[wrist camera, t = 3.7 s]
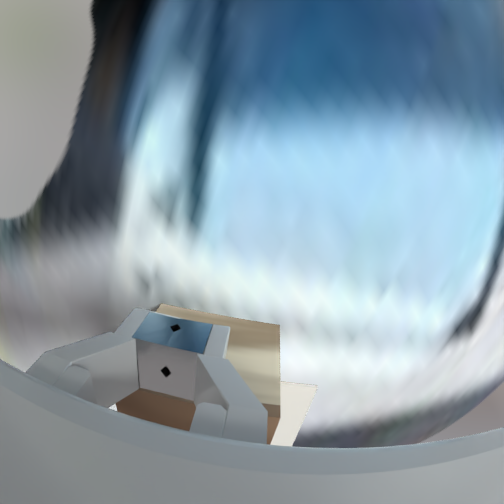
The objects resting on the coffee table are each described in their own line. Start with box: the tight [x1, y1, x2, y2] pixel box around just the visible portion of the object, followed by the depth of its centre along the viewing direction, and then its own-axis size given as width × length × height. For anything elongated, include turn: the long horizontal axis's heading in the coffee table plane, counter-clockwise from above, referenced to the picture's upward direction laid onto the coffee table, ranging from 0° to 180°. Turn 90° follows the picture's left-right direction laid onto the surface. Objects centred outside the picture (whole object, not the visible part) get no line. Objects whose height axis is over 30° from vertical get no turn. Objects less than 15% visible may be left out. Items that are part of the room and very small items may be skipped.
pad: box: [270, 381, 318, 446], centre depth 23 cm, size 9×16×1 cm, turn 81°
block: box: [116, 303, 281, 445], centre depth 17 cm, size 4×8×8 cm, turn 81°
